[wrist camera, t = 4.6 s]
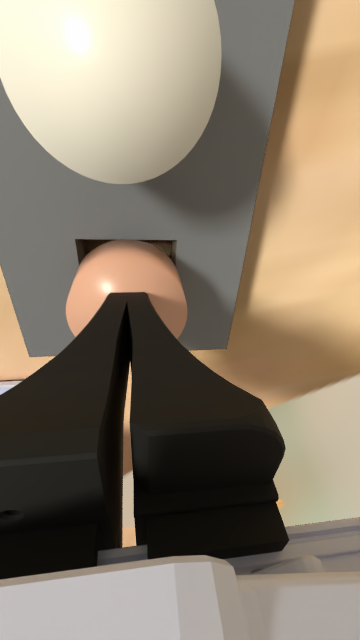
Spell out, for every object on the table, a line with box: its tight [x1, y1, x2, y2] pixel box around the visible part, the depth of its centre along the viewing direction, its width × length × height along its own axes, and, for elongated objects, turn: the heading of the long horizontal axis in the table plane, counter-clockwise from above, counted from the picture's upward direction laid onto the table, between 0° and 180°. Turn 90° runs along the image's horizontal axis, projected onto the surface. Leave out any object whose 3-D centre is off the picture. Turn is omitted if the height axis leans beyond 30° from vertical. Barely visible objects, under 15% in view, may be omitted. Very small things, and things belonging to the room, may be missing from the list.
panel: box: [0, 0, 295, 357], centre depth 10 cm, size 22×10×2 cm, turn 177°
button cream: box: [0, 0, 222, 184], centre depth 7 cm, size 4×4×4 cm
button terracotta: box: [66, 239, 187, 339], centre depth 12 cm, size 4×4×4 cm
